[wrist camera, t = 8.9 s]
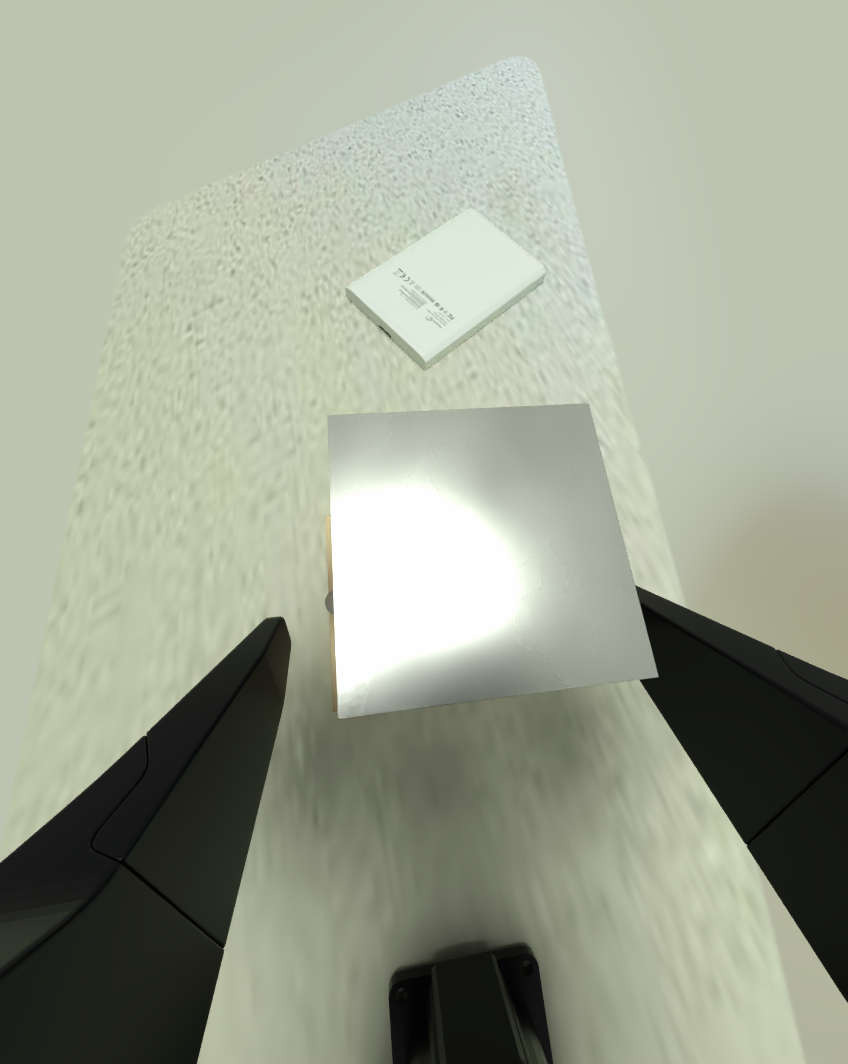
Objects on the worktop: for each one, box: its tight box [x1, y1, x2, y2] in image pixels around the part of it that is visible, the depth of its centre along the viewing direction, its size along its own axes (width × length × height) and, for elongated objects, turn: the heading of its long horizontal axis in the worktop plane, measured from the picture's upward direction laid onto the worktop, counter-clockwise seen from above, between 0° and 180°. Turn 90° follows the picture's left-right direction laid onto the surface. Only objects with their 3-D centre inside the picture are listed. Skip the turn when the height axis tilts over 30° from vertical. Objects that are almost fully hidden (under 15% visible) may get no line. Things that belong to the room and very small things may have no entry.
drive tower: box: [328, 404, 659, 719], centre depth 12 cm, size 5×5×13 cm
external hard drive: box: [345, 208, 546, 370], centre depth 25 cm, size 2×8×12 cm
